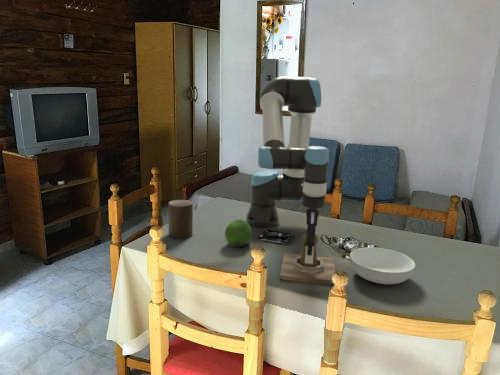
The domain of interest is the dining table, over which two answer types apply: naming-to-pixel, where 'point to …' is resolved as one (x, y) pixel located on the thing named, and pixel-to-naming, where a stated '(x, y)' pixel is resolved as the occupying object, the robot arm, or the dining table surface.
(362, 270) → the serving bowl
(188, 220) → the pillar candle
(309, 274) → the socket board
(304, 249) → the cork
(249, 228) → the fruit
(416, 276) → the dining table surface
